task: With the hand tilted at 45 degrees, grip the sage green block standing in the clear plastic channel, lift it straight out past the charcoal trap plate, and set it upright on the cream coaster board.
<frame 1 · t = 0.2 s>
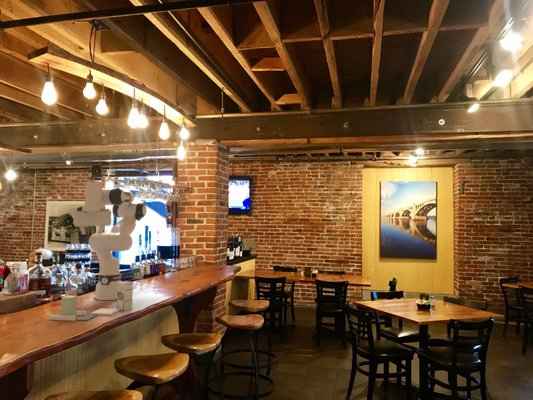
hand: (91, 234, 214), 39 cm above the table, tool pointing down, fingers open, 8 cm apart
syrup box: (124, 309, 209), on the table
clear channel: (68, 317, 190), on the table
sage block: (68, 317, 190), resting in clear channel
coaster board: (105, 312, 200), on the table
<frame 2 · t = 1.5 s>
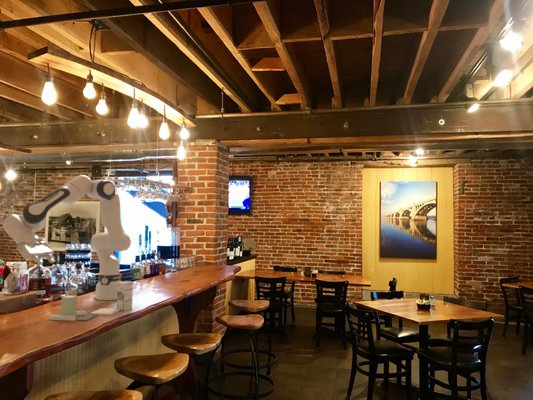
hand: (47, 262, 194), 26 cm above the table, tool tilted 45°, fingers open, 8 cm apart
nothing on the table moved.
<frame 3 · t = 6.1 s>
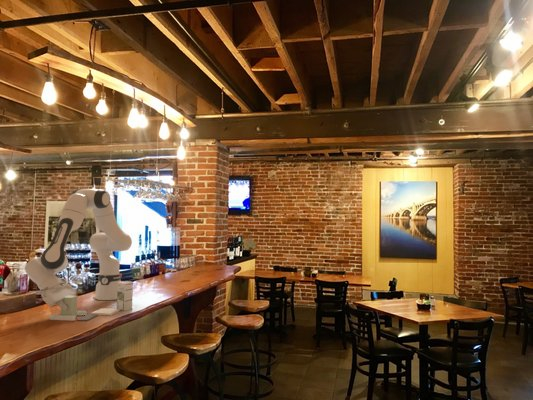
hand: (70, 307, 190), 5 cm above the table, tool tilted 45°, fingers closed on sage block, 5 cm apart
sage block: (68, 317, 190), resting in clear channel, touching gripper
everything else where it was.
when the fingers open (7 cm above the table, at t = 17.5 s): sage block drops 1 cm, resting on coaster board.
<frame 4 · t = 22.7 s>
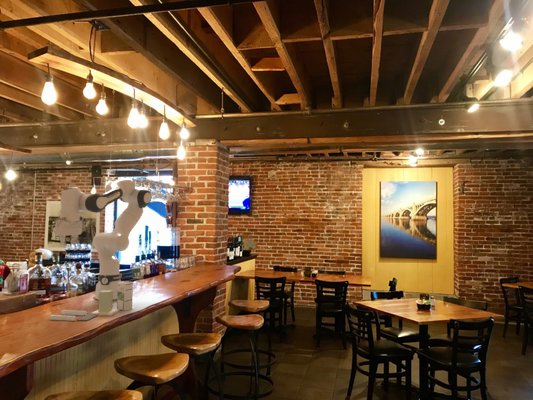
hand: (68, 244, 206), 34 cm above the table, tool pointing down, fingers open, 8 cm apart
sage block: (105, 310, 200), point 1 cm above the table, touching coaster board
everything else where it was.
at the end: sage block inside the target area on the coaster board (0.2 cm from its centre), point 1.0 cm above the coaster board's base; sage block tilted 0°; the gripper is holding nothing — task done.
